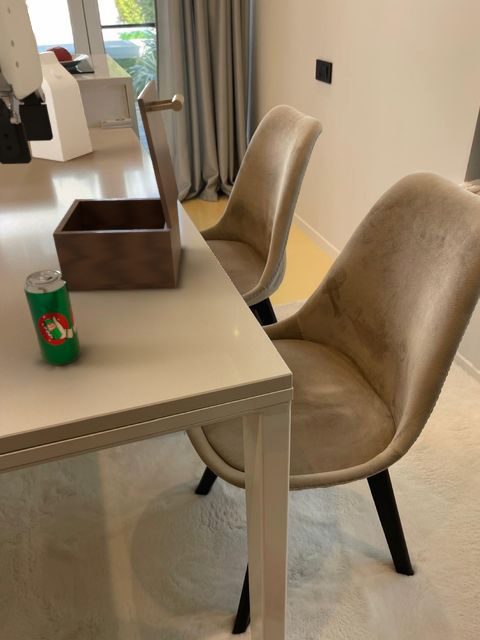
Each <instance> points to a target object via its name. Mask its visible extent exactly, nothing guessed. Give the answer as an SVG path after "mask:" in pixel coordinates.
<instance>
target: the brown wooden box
mask: <svg viewBox="0 0 480 640" xmlns="http://www.w3.org/2000/svg"><path fill="white" fill-rule="evenodd" d="M178 205H179V203H177V206H176V211H175V216H174V221H173V226H172V228H168V229H167V225H166V221H165V217H164V212H163V208H162V204H161V200H160V197H128V198H127V197H119V198H117V197H116V198H113V197H112V198H75V199H74V200H73V202H72V203H71V204H70V206H69V208H68V210H67V211H66V212H65V214H64V215H63V217H62V219H61V220H60V222H59V224H58V225H57V226H56V228H55V230H54V231H53V233H52V238H53V242H54V246H55V250H56V255H57V260H58V264H59V269H60V273H61V274H62V277H63V278H64V279H65V280H66V283H67V287H68V292H83V291H86V292H87V291H118V290H120V291H123V290H153V289H154V290H155V289H176V288H177V281H178V275H179V267H180V261H181V253H182V241H181V239H182V238H181V229H180V219H179V206H178Z"/></svg>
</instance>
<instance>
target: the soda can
mask: <svg viewBox="0 0 480 640" xmlns="http://www.w3.org/2000/svg"><path fill="white" fill-rule="evenodd" d="M24 282H25V284H24V286H23V290H24V294H25V298H26V301H27V306H28V308H29V313H30V316H31V320H32V324H33V328H34V331H35V336H36V339H37V342H38V346H39V351H40V354H41V357H42V359H43V360H44V362H45V363H48V364H50V365H53V366H63V365H67V364H70V363H72V362H74V361H75V360H77V358H79V356H80V354H81V352H82V348H81V342H80V339H79V338H80V337H79V334H78V328H77V324H76V319H75V315H74V311H73V305H72V302H71V297H70V291H68V287H67V283H66V280H65V279H64V278H63V277H62V274H61V271H58V270H56V269H42V270H37V271H34V272H32V273H30V274H28V275H26V277H25V279H24Z"/></svg>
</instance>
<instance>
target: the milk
mask: <svg viewBox="0 0 480 640" xmlns="http://www.w3.org/2000/svg"><path fill="white" fill-rule="evenodd" d="M39 56H40V62H41V67H42V74H43V83H42V85H41V87H42V90H43V92H44V94H45V98H46V103H41V104H47V109H48V114H49V119H50V123H51V128H52V133H53V139H52V140H50V141H29V143H30V149H31V150H30V151H31V157H32V158H39V159H44V160H50V161H57V162H63V163H65V162H68V161H70V160H73V159H75V158H79V157H81V156H84V155H86V154H90V153H92V152H93V146H92V140H91V137H90V132H89V126H88V122H87V118H86V113H85V108H84V104H83V99H82V94H81V90H80V86H79V83H78V81H77V79H76V78H75V77H74V76H73V75H72V74H71V72H69V71H68V70H67V69H66V68H65V67H64V66H63V65H62V64H61V63H60V61H59V60H58V57H57V56H56V54H55V52H54V51H53V50H52V51H51V50H50V51H42V52H39Z"/></svg>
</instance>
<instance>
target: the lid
mask: <svg viewBox="0 0 480 640" xmlns="http://www.w3.org/2000/svg"><path fill="white" fill-rule="evenodd" d="M136 100H137V105H138V110H139V113H140V118H141V121H142V122H141V123H142V127H143V130H144V135H145V139H146V143H147V149H148V152H149V156H150V160H151V165H152V169H153V173H154V177H155V178H154V179H155V181H156V186H157V190H158V195H159V198H160V200H161V204H162V208H163V212H164V217H165V221H166V225H167V229H168V228H172V226H173V221H174V216H175V211H176V206H177V204H178V201H179V195H180V194H179V193H180V192H179V188H178V184H177V179H176V174H175V169H174V165H173V161H172V157H171V151H170V147H169V141H168V137H167V133H166V127H165V123H164V122H165V121H164V118H163V114H162V111H168V110H173V111H174V112H176V113H177V112H180V111H181V110H182V109H183V106H184V102H185V97H184V95H183V94H182V93H181V94H180V93H177V94H174V96H173V97H170V98H165V99H159V94H158V90H157V85H156V80H155V79H150V80H149V81H148V83H146V85H145V87H144V88H143V90H142V91H141V93H140V94H139V96H138V97H137V98H136Z"/></svg>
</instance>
